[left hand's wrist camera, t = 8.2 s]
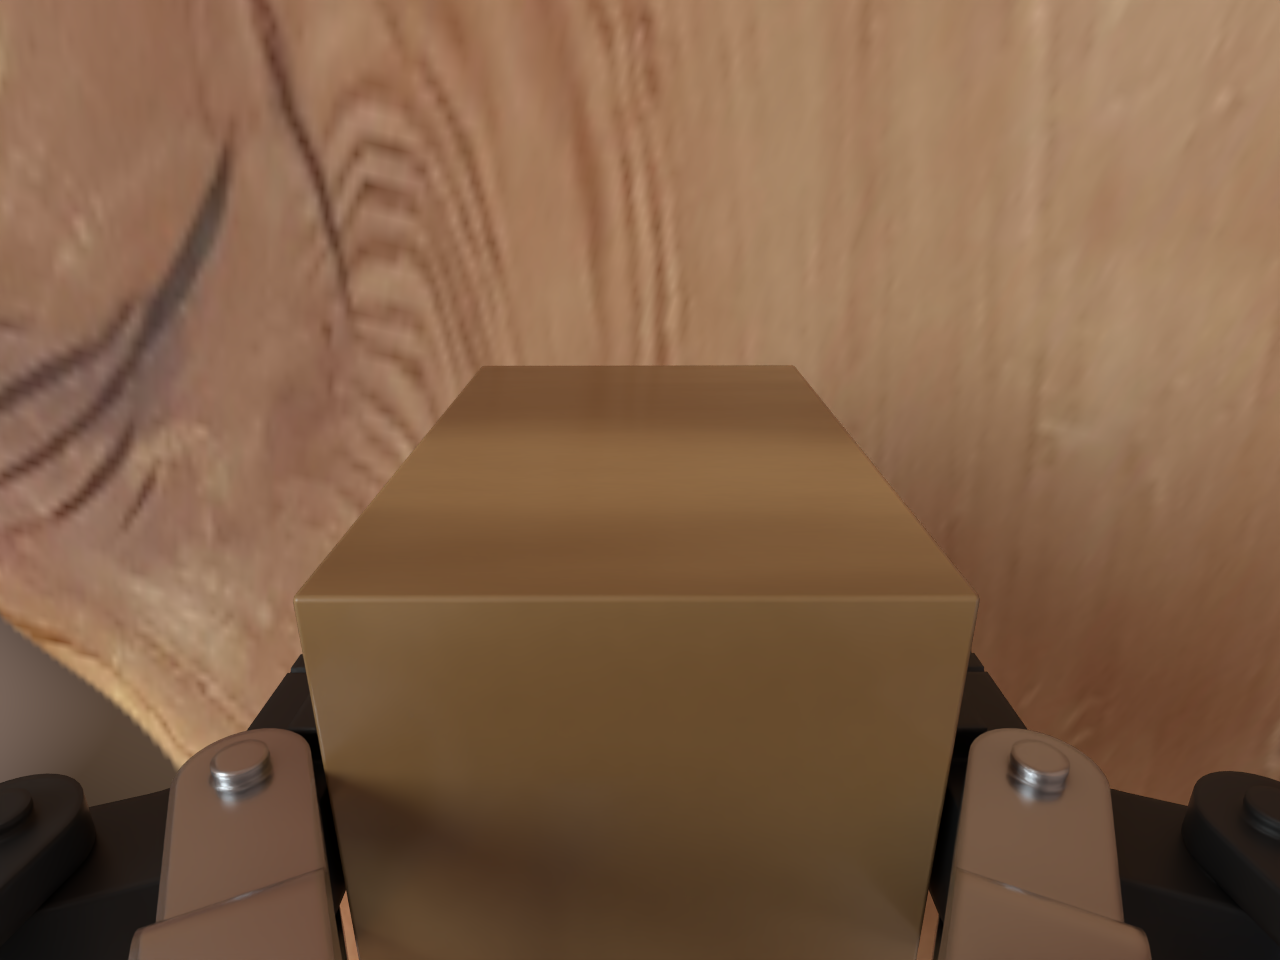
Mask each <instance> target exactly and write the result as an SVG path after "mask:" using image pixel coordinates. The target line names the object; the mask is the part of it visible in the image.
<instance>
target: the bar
mask: <svg viewBox="0 0 1280 960" xmlns="http://www.w3.org/2000/svg"><path fill="white" fill-rule="evenodd" d="M293 604H294V609H295V614H296V620H297V625H298V631H299V636H300V642H301V647H302V652H303V658H304V663H305V669H306V674H307V680H308V685H309V690H310V696H311V701H312V707H313V712H314V718H315V723H316V728H317V734H318V739H319V745H320V750H321V756H322V761H323V766H324V772H325V777H326V783H327V788H328V794H329V799H330V804H331V810H332V815H333V821H334V826H335V832H336V837H337V842H338V848H339V853H340V859H341V864H342V870H343V875H344V880H345V886H346V891H347V897H348V902H349V908H350V913H351V918H352V924H353V929H354V935H355V940H356V946H357V951H358V956H359V960H916V957H917V952H918V946H919V940H920V935H921V929H922V923H923V918H924V912H925V906H926V901H927V895H928V889H929V884H930V878H931V872H932V867H933V861H934V856H935V850H936V844H937V839H938V833H939V827H940V822H941V816H942V810H943V805H944V799H945V793H946V788H947V782H948V776H949V771H950V765H951V759H952V754H953V748H954V742H955V737H956V731H957V725H958V720H959V714H960V708H961V703H962V697H963V691H964V686H965V680H966V674H967V669H968V663H969V657H970V652H971V646H972V640H973V635H974V629H975V623H976V618H977V612H978V606H979V596H978V594H977V593H976V592H975V590H974V589H973V588H972V587H971V585H970V584H969V583H968V582H967V580H966V579H965V578H964V577H963V575H962V574H961V573H960V572H959V570H958V569H957V568H956V567H955V565H954V564H953V563H952V562H951V560H950V559H949V558H948V557H947V555H946V554H945V553H944V552H943V550H942V549H941V548H940V547H939V545H938V544H937V543H936V542H935V541H934V539H933V538H932V537H931V536H930V534H929V533H928V532H927V531H926V529H925V528H924V527H923V526H922V524H921V523H920V522H919V521H918V519H917V518H916V517H915V516H914V514H913V513H912V512H911V511H910V509H909V508H908V507H907V506H906V504H905V503H904V502H903V501H902V499H901V498H900V497H899V496H898V494H897V493H896V492H895V491H894V490H893V488H892V487H891V486H890V485H889V483H888V482H887V481H886V480H885V478H884V477H883V476H882V475H881V473H880V472H879V471H878V470H877V468H876V467H875V466H874V465H873V463H872V462H871V461H870V460H869V458H868V457H867V456H866V455H865V453H864V452H863V451H862V450H861V448H860V447H859V446H858V445H857V443H856V442H855V441H854V440H853V439H852V437H851V436H850V435H849V434H848V432H847V431H846V430H845V429H844V427H843V426H842V425H841V424H840V422H839V421H838V420H837V419H836V417H835V416H834V415H833V414H832V412H831V411H830V410H829V409H828V407H827V406H826V405H825V404H824V402H823V401H822V400H821V399H820V397H819V396H818V395H817V394H816V392H815V391H814V390H813V389H812V388H811V386H810V385H809V384H808V383H807V381H806V380H805V379H804V378H803V376H802V375H801V374H800V373H799V371H798V370H797V369H796V368H795V366H792V365H788V366H483V367H481V368H480V370H479V371H478V372H477V373H476V375H475V376H474V377H473V378H472V379H471V381H470V382H469V383H468V384H467V386H466V387H465V388H464V389H463V391H462V392H461V393H460V394H459V395H458V397H457V398H456V399H455V400H454V402H453V403H452V404H451V405H450V406H449V408H448V409H447V410H446V411H445V413H444V414H443V415H442V416H441V417H440V419H439V420H438V421H437V422H436V424H435V425H434V426H433V427H432V428H431V430H430V431H429V432H428V433H427V435H426V436H425V437H424V438H423V439H422V441H421V442H420V443H419V444H418V446H417V447H416V448H415V449H414V450H413V452H412V453H411V454H410V455H409V457H408V458H407V459H406V460H405V461H404V463H403V464H402V465H401V466H400V468H399V469H398V470H397V471H396V472H395V474H394V475H393V476H392V477H391V479H390V480H389V481H388V482H387V483H386V485H385V486H384V487H383V488H382V490H381V491H380V492H379V493H378V494H377V496H376V497H375V498H374V499H373V501H372V502H371V503H370V504H369V505H368V507H367V508H366V509H365V510H364V512H363V513H362V514H361V515H360V516H359V518H358V519H357V520H356V521H355V523H354V524H353V525H352V526H351V527H350V529H349V530H348V531H347V532H346V534H345V535H344V536H343V537H342V538H341V540H340V541H339V542H338V543H337V545H336V546H335V547H334V548H333V549H332V551H331V552H330V553H329V554H328V556H327V557H326V558H325V559H324V560H323V562H322V563H321V564H320V565H319V567H318V568H317V569H316V570H315V571H314V573H313V574H312V575H311V576H310V578H309V579H308V580H307V581H306V582H305V584H304V585H303V586H302V587H301V589H300V590H299V591H298V592H297V593H296V595H295V596H294V600H293Z"/></svg>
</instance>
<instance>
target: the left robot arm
mask: <svg viewBox="0 0 1280 960" xmlns="http://www.w3.org/2000/svg"><path fill="white" fill-rule="evenodd" d="M345 891H346V886H345V880H344V875H343V870H342V864H341V859H340V853H339V848H338V842H337V837H336V832H335V826H334V821H333V815H332V810H331V804H330V799H329V794H328V788H327V783H326V777H325V772H324V766H323V761H322V756H321V750H320V745H319V739H318V734H317V728H316V723H315V718H314V712H313V707H312V701H311V696H310V690H309V685H308V680H307V674H306V669H305V663H304V658H303V654H301V655H300V656H299V658H298V659H297V660H296V662H295V663H294V665H293V666H292V667H291V673H287V674H286V676H285V677H284V679H283V680H282V682H281V683H280V684H279V686H278V687H277V689H276V690H275V691H274V693H273V694H272V696H271V697H270V699H269V700H268V701H267V703H266V704H265V706H264V707H263V708H262V710H261V711H260V713H259V714H258V716H257V717H256V718H255V720H254V721H253V723H252V724H251V725H250V727H249V728H248V730H247V731H244V732H240V733H237V734H234V735H231V736H228V737H226V738H223V739H221V740H218V741H216V742H214V743H212V744H210V745H208V746H207V747H205V748H204V749H202V750H201V751H199V752H198V753H196V754H195V755H194V756H192V757H191V758H190V759H189V760H188V761H187V762H186V763H185V764H184V765H183V766H182V767H181V768H180V769H179V771H178V772H177V773H176V775H175V777H174V779H173V781H172V783H171V787H170V788H168V789H165V790H162V791H159V792H155V793H151V794H147V795H143V796H138V797H133V798H129V799H124V800H120V801H115V802H111V803H106V804H102V805H97V806H92V807H88V804H87V801H86V798H85V795H84V792H83V789H82V787H81V785H80V783H78V782H77V781H76V780H75V779H73V778H71V777H68V776H65V775H60V774H37V775H30V776H24V777H20V778H16V779H12V780H8V781H5V782H2V783H0V960H348V953H347V946H346V939H345V932H344V926H343V921H342V915H341V910H340V903H341V901H342V898H343V896H344V893H345ZM929 891H930V894H931V896H932V899H933V901H934V904H935V906H936V909H937V911H938V914H939V915H938V921H937V926H936V932H935V939H934V946H933V953H932V960H1280V782H1279V781H1276V780H1273V779H1270V778H1267V777H1263V776H1259V775H1255V774H1250V773H1244V772H1234V771H1222V772H1215V773H1210V774H1208V775H1205V776H1203V777H1202V778H1200V779H1199V780H1198V781H1197V783H1196V784H1195V786H1194V789H1193V792H1192V795H1191V798H1190V802H1189V805H1188V806H1185V805H1180V804H1176V803H1171V802H1167V801H1162V800H1157V799H1153V798H1148V797H1144V796H1139V795H1135V794H1130V793H1126V792H1122V791H1118V790H1114V789H1110V787H1109V783H1108V781H1107V779H1106V777H1105V775H1104V773H1103V772H1102V771H1101V769H1100V768H1099V767H1098V766H1097V765H1096V764H1095V763H1094V762H1093V761H1092V760H1091V759H1090V758H1089V757H1088V756H1086V755H1085V754H1084V753H1082V752H1081V751H1079V750H1078V749H1076V748H1075V747H1073V746H1072V745H1070V744H1068V743H1066V742H1064V741H1062V740H1059V739H1057V738H1054V737H1052V736H1049V735H1046V734H1043V733H1040V732H1036V731H1031V730H1027V728H1026V727H1025V725H1024V724H1023V722H1022V721H1021V720H1020V718H1019V717H1018V715H1017V714H1016V712H1015V711H1014V709H1013V708H1012V707H1011V705H1010V704H1009V702H1008V701H1007V699H1006V698H1005V697H1004V695H1003V694H1002V692H1001V691H1000V689H999V688H998V687H997V685H996V684H995V682H994V681H993V679H992V678H991V677H990V675H989V674H988V672H984V666H983V665H982V664H981V662H980V661H979V659H978V658H977V656H976V655H975V654H974V653H971V652H970V657H969V663H968V669H967V674H966V680H965V686H964V691H963V697H962V703H961V708H960V714H959V720H958V725H957V731H956V737H955V742H954V748H953V754H952V759H951V765H950V771H949V776H948V782H947V788H946V793H945V799H944V805H943V810H942V816H941V822H940V827H939V833H938V839H937V844H936V850H935V856H934V861H933V867H932V872H931V878H930V884H929Z"/></svg>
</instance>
